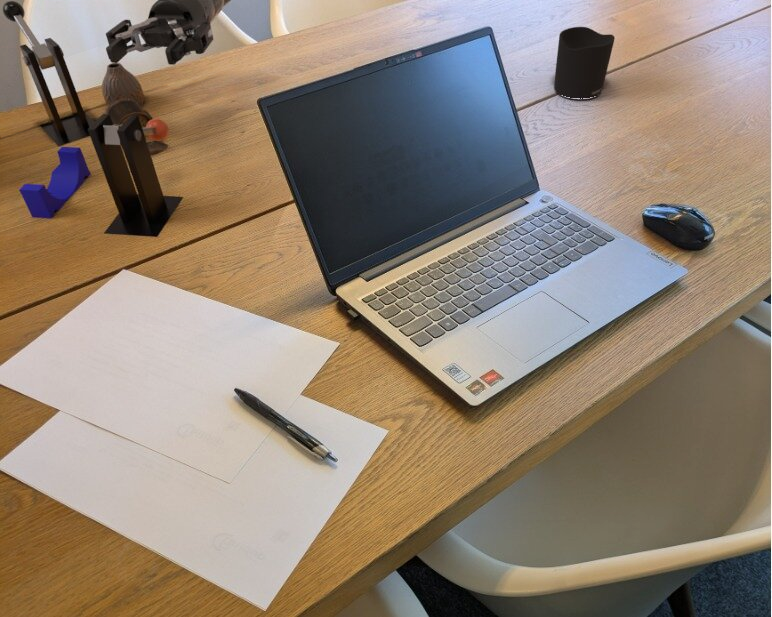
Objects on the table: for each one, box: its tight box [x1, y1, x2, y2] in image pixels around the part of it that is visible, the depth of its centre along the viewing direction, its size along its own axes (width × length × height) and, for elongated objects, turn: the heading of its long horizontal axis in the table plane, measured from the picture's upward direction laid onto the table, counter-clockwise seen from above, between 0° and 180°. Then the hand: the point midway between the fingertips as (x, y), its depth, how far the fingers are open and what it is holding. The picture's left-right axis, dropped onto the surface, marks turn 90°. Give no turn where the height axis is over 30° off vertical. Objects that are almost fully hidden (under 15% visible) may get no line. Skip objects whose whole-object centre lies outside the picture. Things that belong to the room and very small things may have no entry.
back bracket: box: [19, 37, 95, 148], centre depth 111 cm, size 10×8×16 cm
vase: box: [101, 62, 145, 108], centre depth 120 cm, size 7×7×9 cm
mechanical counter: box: [104, 98, 168, 156], centre depth 110 cm, size 7×13×10 cm
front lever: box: [103, 118, 169, 146], centre depth 92 cm, size 14×3×3 cm, turn 172°
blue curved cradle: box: [18, 146, 91, 220], centre depth 99 cm, size 12×4×6 cm, turn 171°
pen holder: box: [553, 26, 616, 99], centre depth 119 cm, size 9×9×10 cm
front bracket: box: [88, 113, 184, 238], centre depth 91 cm, size 10×8×16 cm
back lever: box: [2, 0, 55, 71], centre depth 108 cm, size 14×3×3 cm, turn 38°
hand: (140, 57), depth 91 cm, fingers open, 8 cm apart
